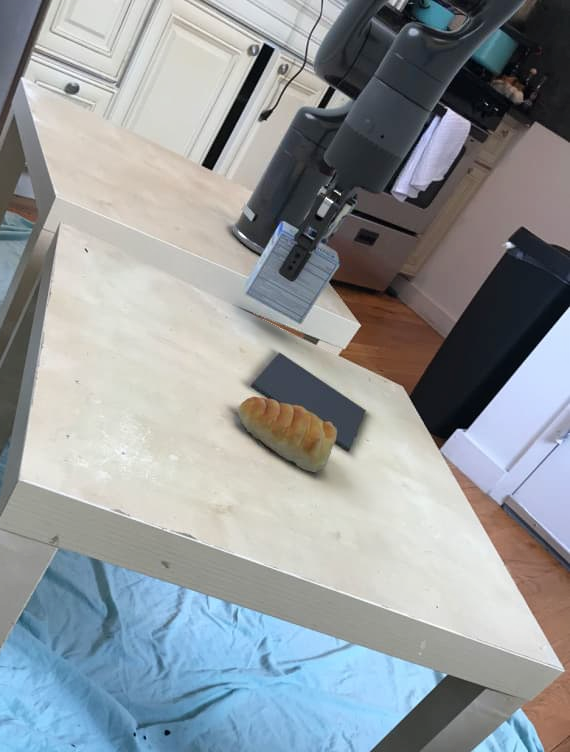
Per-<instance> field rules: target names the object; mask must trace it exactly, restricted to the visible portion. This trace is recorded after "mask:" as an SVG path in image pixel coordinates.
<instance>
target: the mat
mask: <svg viewBox="0 0 570 752" xmlns="http://www.w3.org/2000/svg"><path fill="white" fill-rule="evenodd" d="M250 387H252V388H253V389H255V390H256V391H257V392H259V393H260V394H262V395H264V396H265V397H266V398H267V399H274V400H276V401H277V402H279V403H283V404H284V403H285V404H290V405H298V406H302V407H303V408H305V409H306V410H307V411H309V412H312V413H313V414H315V415H316V416H317V417H318V418H319V419H321V420H322V421H323V422H331V423H332V424H333V426H334V427H335V428H336V429H337V436H336V441H335V443H334V444H336V445H337V446H339V447H340V448H342V449H343V450H344V451H346V452H350V451H351V449H352V446H353V444H354V442H355V439H356V437H357V434H358V432H359V429H360V427H361V424H362V422H363V419H364V417H365V415H366V412H367V410H366V409H365V408H363V407H362V406H360V405H358V404H357V403H356V402H354V401H353V400H352V399H350V398H348V397H347V396H345V395H344V394H342V393H341V392H340V391H338V390H337V389H335V388H333V387H332V386H330V384H327V383H326V382H325V381H323V380H322V379H320V378H318V377H317V376H316V375H314V374H312V373H311V372H309V371H308V370H306V369H305V368H304V367H302V366H301V365H299V364H297V362H295V361H294V360H292V359H290V358H289V357H288V356H286V355H284V354H283V353H281V352H278V354H277V355H276V356H275V357H274V358H273V359H272V360H271V361H270V363H269V364H268V365H267V366H266V367H265V368H264V369H263V370H262V371H261V373H260V374H259V375H258V376H257V377H256V378H255V379H254V381H252V382H251V385H250Z"/></svg>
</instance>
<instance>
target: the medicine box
mask: <svg viewBox="0 0 570 752" xmlns="http://www.w3.org/2000/svg"><path fill="white" fill-rule="evenodd" d="M298 230H299V229H297V228H295V227H293V226H291V225H290V224H288V223H286V222H284V221H281V223H280V224H279V226H278V228H277V229H276V231H275V233H274V234H273V236H272V238H271V240H270V241H269V243H268V245H267V247H266V248H265V250H264V252H263V254H262V255H261V254H260V257H259V259H258V260H257V262H256V264H255V266H254V267H253V269H252V271H251V273H250V274H249V276H248V277H247V279H246V284H245V289H244V295H246V296H247V297H249V298H251V299H253V300H255V301H257V302H258V303H261V304H263V305H264V306H266V307H268V308H269V309H272V310H273V311H275V312H277V313H279V314H281V315H283V316H284V317H286V318H288V319H290V320H292V321H293V322H296V323H297V324H299V325H302V323H303V322H304V321H305V319H306V318H307V316H308V314H309V313H310V311H311V310H312V308H313V307H314V305H315V304H316V302H317V300H318V299H319V297H320V296H321V295H322V293H323V291H324V290H325V288H326V287H327V286H328V284H329V283H330V281H331V279H332V277H333V276H334V275H335V273H336V271H337V270H338V269H339V267H340V260H339V259H340V258H339V255H338V252H337V251H336V250H335V249H333V248H331V247H329V246H328V245H327V244H325V245H324V244H323V243H320V244H319V246H318V247H317V251H316V252H315V253H313V254H312V255H311V257H310V258H309V260H308V262H307V263H306V265H305V266H304V268H303V270H302V271H301V273H300V274H299V276H298V278H297V279H296V280H295V281H293V282H291V281H289V280H287V279H286V278H284V277H283V276H281V275H280V274H279V269H280V267H281V266H282V264H283V262H284V261H285V259H286V257H287V256H288V254H289V253H290V251H291V249H292V248H293V246H294V240H293V239H294V235H295V234H296V233H297V232H298ZM306 235H307V233H306ZM307 236H308V237H310V238H311V239H313V240H314V238H313V237H311V236H309V235H307Z"/></svg>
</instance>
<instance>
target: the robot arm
mask: <svg viewBox="0 0 570 752" xmlns="http://www.w3.org/2000/svg"><path fill="white" fill-rule="evenodd" d="M389 1H390V0H348V1H347V4H346V5H345V6H344V7H343V9H342V10H341V11H340V13H339V15H337V17H336V19H334V22H333V23H332V25H331V26H330V28H329V29H328V31H327V32H326V33H325V36H324V37H323V39H322V40H321V42H320V45H319V47H318V48H317V51H316V53H315V57H314V59H313V72H314V74H315V76H316V77H317V79H319V80H321V81H322V82H323V83H325V84H327V85H328V86H329V87H331V88H333V89H334V90H336V91H338V92H339V93H341V94H343V96H345V97H347V98H349V99H348V100H347V102H346V103H345V104H344V105H342V106H339V107H335V108H333V107H332V108H321V107H314V106H309V105H306V106H305V105H304V106H301V107H299V108H298V110H297V111H296V113H295V114H294V116H293V117H292V118H293V119H292V120H291V122H290V124H289V125H288V127H287V129H286V131H285V133H284V135H283V136H282V138H281V140H280V142H279V143H278V146H277V147H276V150H275V151H274V153H273V156H272V157H271V159H270V161H269V162H268V165H267V166H266V168H265V170H264V172H263V173H262V175H261V177H260V179H259V181H258V182H257V185H256V187H255V188H254V190H253V192H252V194H251V196H250V198H249V200H248V201H247V203H244V204H243V206H242V207H241V214H240V215H239V218H238V219H237V222H235V223H234V224H233V227H232V233H233V234H234V236H235V237H236V238H237V239H238V240H239V241H240V242H241V243H242V244H244V245H245V246H246V247H248V248H249V249H250V250H252V251H254V252H255V253H257V254H260V256H261V255H262V254H263V252H264V250H265V248H266V247H267V245H268V243H269V241H270V240H271V238H272V236H273V234H274V233H275V231H276V229H277V228H278V226H279V224H280V223H281V221H284V222H286V223H288V224H290V225H291V226H293V227H295V228H297V229H299V230H298V232H297V233H296V234H295V235H294V239H293V240H294V246H293V248H292V249H291V251H290V253H289V254H288V256H287V257H286V259H285V261H284V262H283V264H282V266H281V267H280V269H279V274H280V275H281V276H283V277H284V278H286V279H287V280H289V281H291V282H293V281H295V280H296V279H297V278H298V276H299V274H300V273H301V271H302V270H303V268H304V266H305V265H306V263H307V262H308V260H309V258H310V257H311V255H312V254H313V253H315V252H316V251H317V247H318V246H319V244H320V243H323V244H324V245H327V244H328V242H329V240H330V239H331V238H333V237H334V235H335V234H336V233H337V232H338V231H339V230H340V228H341V227H342V225H343V223H344V222H345V220H346V218H347V216H349V215H350V214H351V213H352V212H353V210H355V207H356V206H357V204H358V196H359V193H357V192H358V190H359V189H360V188H361V189H362V190H363V191H365V192H368V193H370V194H374V195H379V194H382V192H384V190H385V189H386V187H387V185H388V184H389V182H390V181H391V179H392V177H393V176H394V175H395V173H396V172H397V170H398V168H399V167H400V165H401V164H402V162H403V160H405V158H406V156H407V154H408V153H409V152H410V150H411V148H412V147H413V145H414V144H415V142H416V141H417V139H418V137H419V136H420V134H421V132H422V130H423V128H424V126H425V124H426V122H427V121H428V118H429V117H430V115H431V112H433V110H434V108H435V107H436V106H437V104H438V102H439V101H440V99H441V98H442V96H443V95H444V93H445V91H446V90H447V88H448V87H449V85H450V84H451V82H452V81H453V79H454V78H455V76H456V75H457V74H458V73H459V71H460V70H461V68H463V66H464V65H465V63H466V62H468V60H469V59H470V58H471V57H472V55H473V54H474V53H475V52H476V51H477V50H478V49H479V48H480V47H481V46H482V45H483V44H484V43H485V42H486V41H487V40H488V39H489V38H490V37H491V36H492V35H493V34H494V33H495V32H496V31H498V30H499V29H500V28H501V27H502V26H503V25H504V24H505V23H506V22H507V21H508V20H509V19H510V18H512V17H513V16H514V14H516V13H517V11H518V10H519V9H521V7H522V6H523V5H524V4H525V2H526V1H527V0H443V2H446V3H447V4H448V5H450V6H451V7H453V8H454V9H456V10H457V11H458V12H460V13H461V14H463V15H465V16H466V17H467V19H466V21H464V23H463V24H462V25H461V26H459V27H458V28H456V29H454V30H450V31H447V30H446V31H445V30H441V29H438V28H435V27H433V26H429V25H427V24H424V23H421V22H417V21H411V22H408V23H406V24H405V25H403V27H402V28H401V30H399V32H397V35H395V34H394V33H392V32H391V31H390V30H388V29H386V28H385V27H384V26H382V25H380V24H379V23H377V22H376V21H374V20H373V17H374V16H375V15H376V14H377V13H378V12H379V10H381V9H382V8H383V7H384V6H385V5H386V4H387V3H388V2H389ZM335 173H336V174H335ZM334 175H335V178H333V177H334ZM330 182H331V183H330ZM306 234H307V235H309V236H311V237H313V238H314V240H313V239H311V238H310V237H308V236H307V235H306Z"/></svg>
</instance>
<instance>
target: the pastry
mask: <svg viewBox="0 0 570 752" xmlns="http://www.w3.org/2000/svg"><path fill="white" fill-rule="evenodd" d="M237 413H238V416H239V419H240V421H241V423H242V425H243V426H244V427H245V429H246V432H247V433H250V434H251V436H252V437H253V438H254V439H257V440H259V441H260V442H262V444H264V445H265V447H266V448H269V449H271V450H272V451H274V452H275V453H276V454H277V455H278V456H280V457H282V458H284V459H285V460H287V461H288V462H290V461H291V462H293V463H295V465H296V467H298V468H300V469H302V470H304V471H308V472H312V473H317V472H318V471H321V470H323V469H325V466H326V464H327V463H328V461H329V459H330V456H331V454H332V450H333V446H334V445H335V444H336V443H335V441H336V436H337V429H336V428H335V427H334V426H333V424H332V423H331V422H323V421H322V420H321V419H319V418H318V417H317V416H316V415H315V414H313V413H312V412H309V411H307V410H306V409H305V408H303V407H302V406H298V405H290V404H285V403H284V404H283V403H279V402H277V401H276V400H274V399H269V398H264V397H259V396H251V397H248V398H246V399H245V400H243V401H242V403H240V405H239V406H238V408H237Z"/></svg>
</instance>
